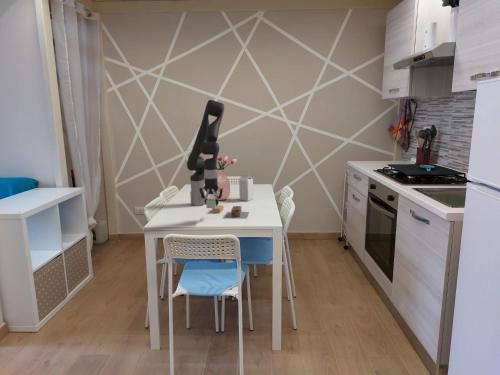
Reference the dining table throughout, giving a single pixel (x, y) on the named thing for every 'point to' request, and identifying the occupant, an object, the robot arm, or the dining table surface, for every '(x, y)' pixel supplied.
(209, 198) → the sage brick
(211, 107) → the robot arm
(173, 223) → the dining table surface
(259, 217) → the dining table surface
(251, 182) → the milk carton
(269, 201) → the dining table surface
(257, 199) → the dining table surface
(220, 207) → the terracotta brick
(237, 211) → the walnut brick
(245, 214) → the baseplate
